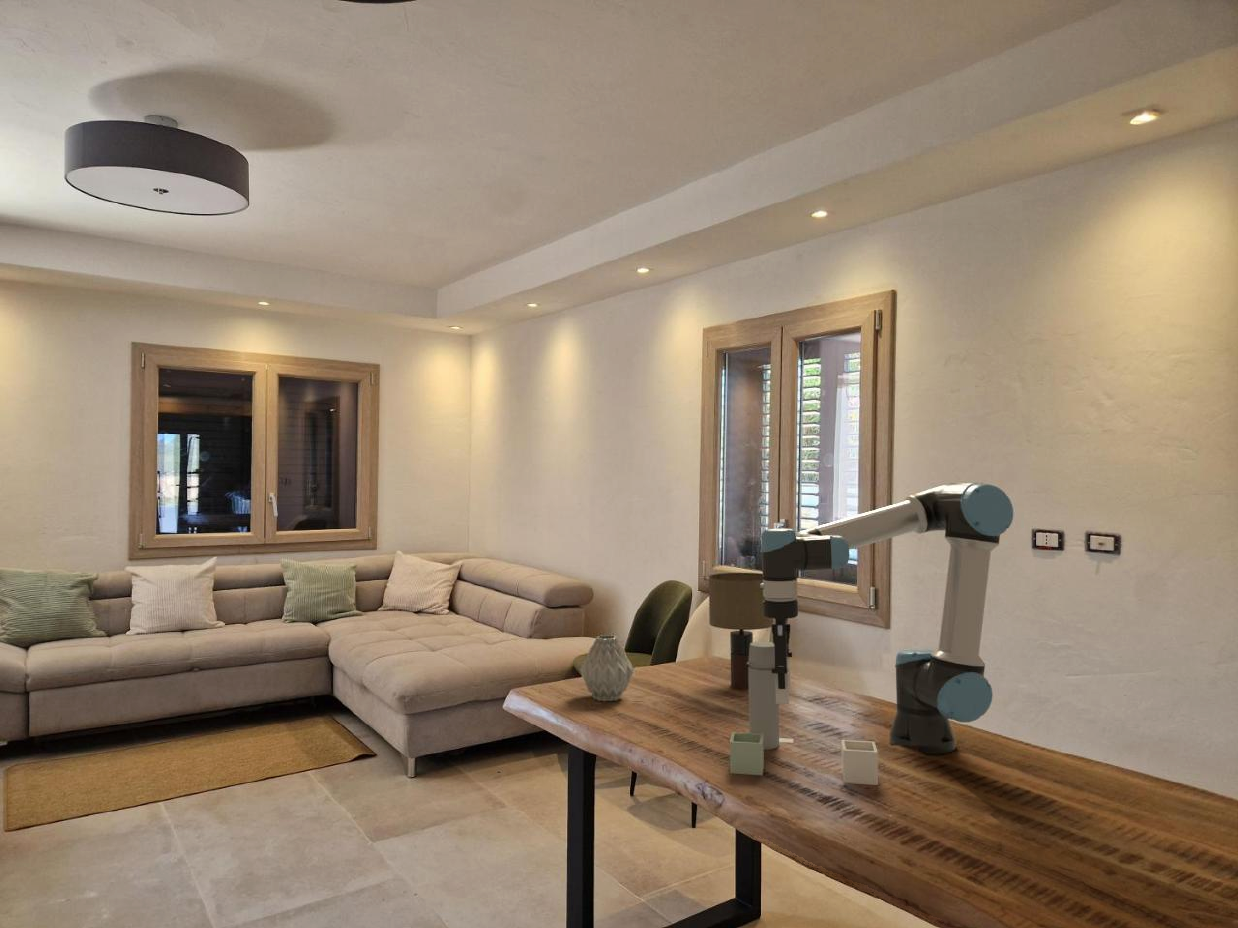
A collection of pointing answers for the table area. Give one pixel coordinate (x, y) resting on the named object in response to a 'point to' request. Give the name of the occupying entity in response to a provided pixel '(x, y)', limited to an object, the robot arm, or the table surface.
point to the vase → (607, 669)
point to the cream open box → (859, 762)
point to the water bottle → (763, 693)
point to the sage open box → (747, 753)
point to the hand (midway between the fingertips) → (783, 694)
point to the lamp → (738, 616)
